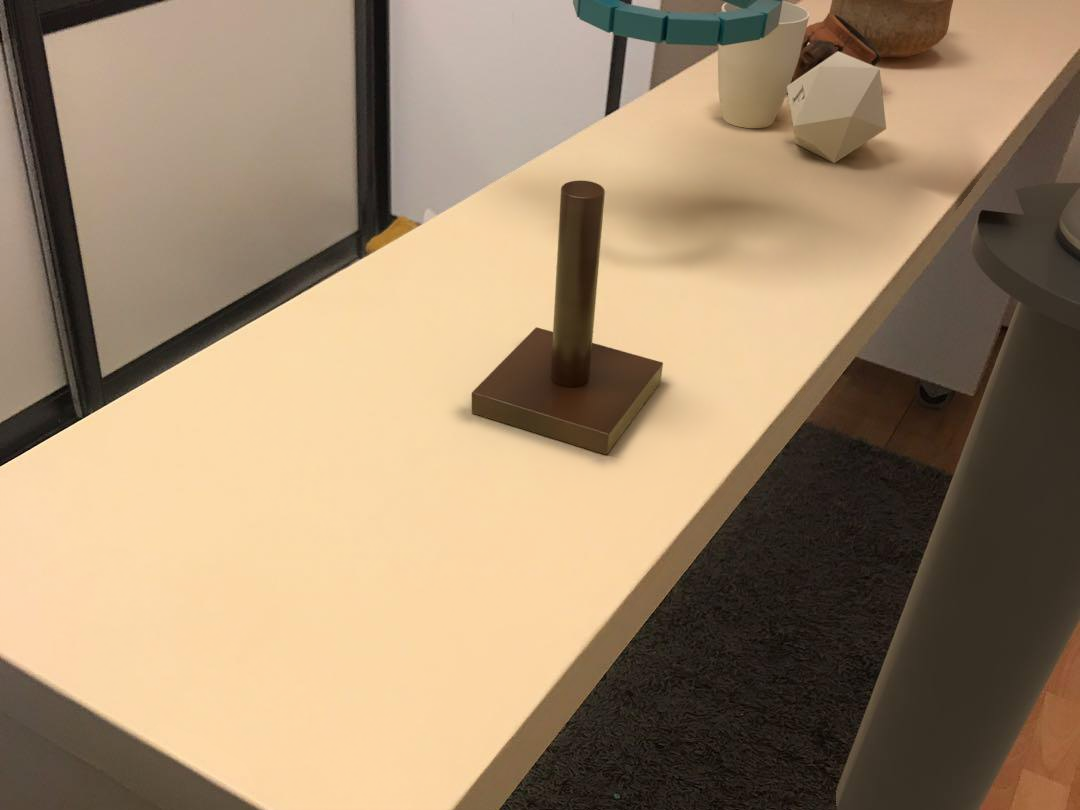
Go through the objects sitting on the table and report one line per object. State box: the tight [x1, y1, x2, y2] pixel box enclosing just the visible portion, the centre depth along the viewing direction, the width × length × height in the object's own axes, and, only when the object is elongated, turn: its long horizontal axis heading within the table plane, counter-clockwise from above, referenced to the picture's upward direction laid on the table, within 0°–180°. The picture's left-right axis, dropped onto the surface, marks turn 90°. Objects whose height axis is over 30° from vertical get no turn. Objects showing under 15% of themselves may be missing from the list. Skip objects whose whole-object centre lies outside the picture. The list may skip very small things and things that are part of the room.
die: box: [787, 51, 887, 164], centre depth 98 cm, size 8×9×10 cm
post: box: [471, 180, 664, 456], centre depth 62 cm, size 9×9×14 cm
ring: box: [572, 0, 784, 47], centre depth 75 cm, size 14×14×2 cm
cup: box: [717, 1, 810, 129], centre depth 102 cm, size 8×8×10 cm
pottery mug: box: [786, 12, 883, 95], centre depth 111 cm, size 12×10×8 cm
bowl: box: [828, 0, 954, 58], centre depth 123 cm, size 18×14×10 cm
